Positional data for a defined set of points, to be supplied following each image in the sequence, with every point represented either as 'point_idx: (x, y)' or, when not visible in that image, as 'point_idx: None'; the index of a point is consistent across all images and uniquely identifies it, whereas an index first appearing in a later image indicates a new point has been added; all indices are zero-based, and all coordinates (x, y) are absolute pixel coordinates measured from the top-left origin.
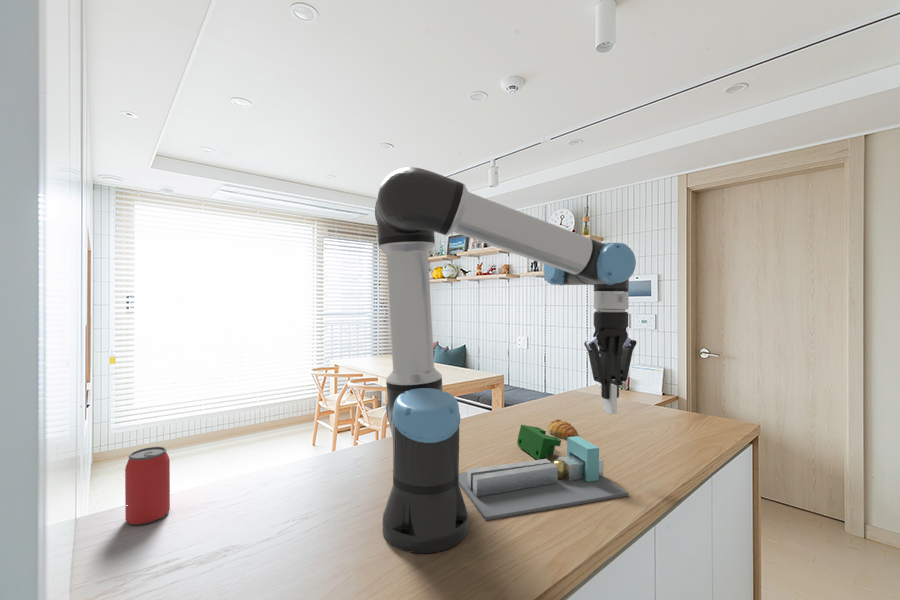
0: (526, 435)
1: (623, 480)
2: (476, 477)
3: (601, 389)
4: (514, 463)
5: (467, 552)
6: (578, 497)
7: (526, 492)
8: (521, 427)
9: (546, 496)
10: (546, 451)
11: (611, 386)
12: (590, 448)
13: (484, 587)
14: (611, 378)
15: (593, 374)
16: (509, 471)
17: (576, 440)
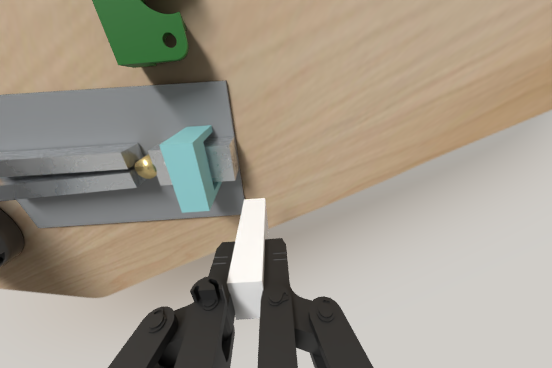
0: None
1: (269, 175)
2: None
3: (210, 270)
4: (48, 159)
5: (33, 262)
6: (171, 212)
7: None
8: None
9: (126, 202)
10: (148, 65)
11: (236, 316)
12: (189, 211)
13: (57, 291)
14: (266, 319)
15: (117, 365)
16: (40, 187)
17: (175, 168)
